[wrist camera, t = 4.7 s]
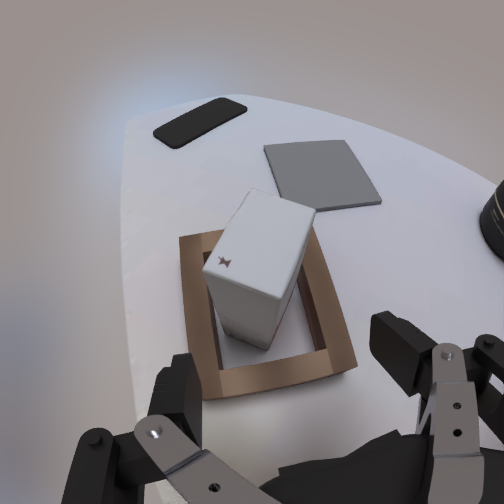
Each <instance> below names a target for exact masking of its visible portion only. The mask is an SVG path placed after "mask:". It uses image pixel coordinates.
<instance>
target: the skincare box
mask: <svg viewBox="0 0 504 504" xmlns="http://www.w3.org/2000/svg"><path fill="white" fill-rule="evenodd" d="M315 213H316V210H315V209H313V208H310V207H307V206H304V205H301V204H298V203H295V202H292V201H289V200H286V199H283V198H280V197H277V196H274V195H271V194H268V193H265V192H262V191H259V190H257V189H251V190H250V191H249V192H248V194H247V195H246V197H245V199H244V200H243V202H242V204H241V205H240V207H239V208H238V210H237V212H236V213H235V214H234V215H233V217H232V218H231V219H230V221H229V222H228V224H227V226H226V227H225V229H224V232H223V234H222V236H221V237H220V239H219V241H218V242H217V244H216V246H215V248H214V249H213V251H212V253H211V255H210V256H209V258H208V260H207V261H206V263H205V265H204V267H203V269H202V271H203V274H204V277H205V280H206V283H207V286H208V288H209V291H210V294H211V297H212V300H213V303H214V305H215V308H216V311H217V314H218V316H219V319H220V322H221V325H222V327H223V330H224V332H225V333H226V334H229V335H231V336H233V337H235V338H238V339H240V340H242V341H245V342H247V343H250V344H252V345H255V346H257V347H260V348H262V349H264V350H269V348H270V345H271V343H272V341H273V338H274V336H275V334H276V331H277V329H278V327H279V324H280V322H281V320H282V317H283V315H284V312H285V310H286V307H287V305H288V302H289V300H290V298H291V295H292V293H293V289H294V286H295V283H296V280H297V277H298V273H299V270H300V267H301V263H302V260H303V257H304V253H305V250H306V246H307V243H308V239H309V236H310V232H311V228H312V225H313V221H314V217H315Z"/></svg>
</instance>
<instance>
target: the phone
mask: <svg viewBox="0 0 504 504" xmlns="http://www.w3.org/2000/svg"><path fill="white" fill-rule="evenodd" d="M245 112H247V107H246V106H244V105H242V104H239V103H237V102H234V101H232V100H229V99H227V98H217V99H215V100H212V101H210V102H208V103H206V104H204V105H201V106H199V107H197V108H195V109H193V110H191V111H189V112H187V113H185V114H183V115H181V116H179V117H177V118H175V119H173V120H171V121H170V122H168V123H166V124H164V125H162V126H160V127H159V128H157V129H155V130H154V131H153V135H154V137H155V138H157V139H158V140H160V141H161V142H163V143H164V144H166V145H167V146H169V147H170V148H172V149H178V148H181V147H183V146H185V145H186V144H188V143H190V142H191V141H193V140H195V139H197V138H198V137H200V136H202V135H204V134H206V133H207V132H209V131H211V130H213V129H214V128H216V127H218V126H220V125H222V124H224V123H226V122H228V121H229V120H231V119H233V118H235V117H237V116H239V115H241V114H243V113H245Z"/></svg>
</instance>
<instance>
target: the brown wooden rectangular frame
mask: <svg viewBox="0 0 504 504" xmlns="http://www.w3.org/2000/svg"><path fill="white" fill-rule="evenodd" d="M223 232H224V229H223V230H217V231H211V232H205V233H200V234H194V235H188V236H182V237H179V245H180V263H181V277H182V290H183V302H184V313H185V322H186V332H187V340H188V349H189V353H191V354H192V356H193V359H194V362H195V366H196V369H197V372H198V375H199V378H200V381H201V386H202V401H207V400H215V399H223V398H230V397H237V396H243V395H249V394H255V393H260V392H266V391H271V390H276V389H280V388H285V387H289V386H294V385H298V384H302V383H306V382H310V381H314V380H318V379H322V378H325V377H329V376H332V375H336V374H339V373H343V372H346V371H348V370H350V369H353V368H355V367H357V366H358V365H357V361H356V357H355V354H354V350H353V347H352V343H351V340H350V336H349V333H348V329H347V326H346V323H345V320H344V316H343V313H342V310H341V307H340V304H339V300H338V297H337V294H336V291H335V288H334V285H333V282H332V279H331V276H330V273H329V270H328V267H327V264H326V262H325V259H324V256H323V253H322V250H321V247H320V245H319V242H318V239H317V236H316V234H315V231H314V228H313V226H312V228H311V232H310V236H309V239H308V243H307V246H306V250H305V253H304V257H303V260H302V263H301V267H300V270H299V273H298V277H297V283H298V286H299V290H300V294H301V297H302V301H303V304H304V308H305V312H306V315H307V319H308V323H309V327H310V330H311V334H312V338H313V342H314V346H315V350H316V351H315V352H311V353H307V354H303V355H298V356H294V357H290V358H285V359H280V360H275V361H271V362H265V363H260V364H255V365H249V366H243V367H238V368H231V369H225V370H223V365H222V359H221V353H220V346H219V340H218V334H217V327H216V320H215V313H214V306H213V300H212V297H211V294H210V291H209V288H208V286H207V283H206V280H205V277H204V274H203V271H202V269H203V267H204V265H205V263H206V261H207V260H208V258H209V256H210V255H211V253H212V251H213V249H214V248H215V246H216V244H217V242H218V241H219V239H220V237H221V236H222V234H223Z"/></svg>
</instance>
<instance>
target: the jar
mask: <svg viewBox="0 0 504 504" xmlns="http://www.w3.org/2000/svg"><path fill="white" fill-rule="evenodd" d="M480 224H481V229H482V233H483V235H484V237H485V239H486V241H487V243H488V244H489V246H490V247H491V249H492V250H493V251H494V252H495V253H496V254H497V255H498V256H499V257H501V258H502V259H504V180H503V181H502V182H501V184H500V185H499V186H498V187H497V188H496V190H495V192H494V194H493V195H492V196H491V198H490V199H489V201H488V202H487V203H486V205H485V206H484V208H483V211H482V213H481V217H480Z"/></svg>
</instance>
